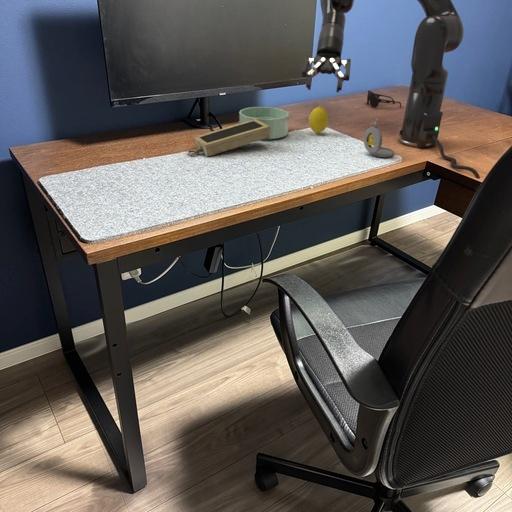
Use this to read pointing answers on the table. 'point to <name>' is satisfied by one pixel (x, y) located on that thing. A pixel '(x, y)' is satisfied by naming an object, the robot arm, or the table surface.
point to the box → (231, 137)
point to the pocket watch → (376, 142)
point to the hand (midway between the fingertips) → (323, 89)
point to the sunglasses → (377, 99)
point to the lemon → (318, 119)
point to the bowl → (268, 119)
